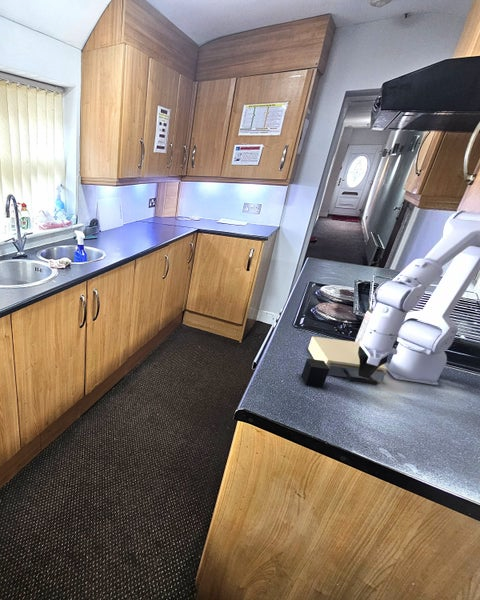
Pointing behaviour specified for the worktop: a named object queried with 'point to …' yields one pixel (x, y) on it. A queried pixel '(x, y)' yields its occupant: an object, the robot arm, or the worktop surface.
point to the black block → (315, 373)
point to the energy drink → (364, 325)
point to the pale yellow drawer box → (337, 352)
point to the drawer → (355, 374)
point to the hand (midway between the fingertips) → (363, 375)
